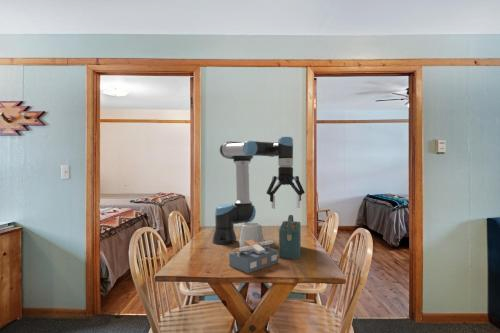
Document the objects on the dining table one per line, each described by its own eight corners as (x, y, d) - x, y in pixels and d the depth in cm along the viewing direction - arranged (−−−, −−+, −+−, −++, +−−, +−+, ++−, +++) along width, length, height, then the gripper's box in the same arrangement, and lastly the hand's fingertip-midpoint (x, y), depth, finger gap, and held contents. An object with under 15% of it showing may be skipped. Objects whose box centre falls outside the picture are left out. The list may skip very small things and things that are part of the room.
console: (228, 265, 127) (228, 249, 128) (259, 256, 142) (259, 241, 142) (248, 273, 118) (248, 255, 118) (278, 262, 132) (278, 246, 133)
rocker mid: (243, 245, 132) (244, 241, 132) (250, 243, 136) (251, 239, 135) (256, 255, 125) (258, 251, 125) (264, 253, 129) (265, 249, 128)
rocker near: (232, 254, 127) (231, 249, 127) (240, 252, 130) (239, 247, 131) (246, 252, 120) (245, 247, 121) (254, 250, 124) (253, 245, 124)
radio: (300, 259, 137) (300, 220, 137) (278, 258, 139) (278, 219, 139) (300, 246, 162) (300, 212, 162) (282, 245, 164) (282, 212, 164)
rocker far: (253, 248, 137) (252, 243, 137) (260, 246, 140) (259, 242, 141) (267, 246, 130) (266, 241, 130) (274, 244, 133) (273, 239, 134)
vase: (266, 254, 146) (266, 226, 146) (240, 255, 143) (240, 227, 143) (261, 247, 159) (261, 221, 160) (237, 248, 157) (237, 222, 157)
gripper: (265, 166, 132) (265, 209, 132) (310, 166, 139) (311, 208, 138) (260, 166, 139) (260, 207, 139) (304, 167, 146) (304, 206, 146)
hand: (285, 207), depth 139 cm, fingers open, 13 cm apart
